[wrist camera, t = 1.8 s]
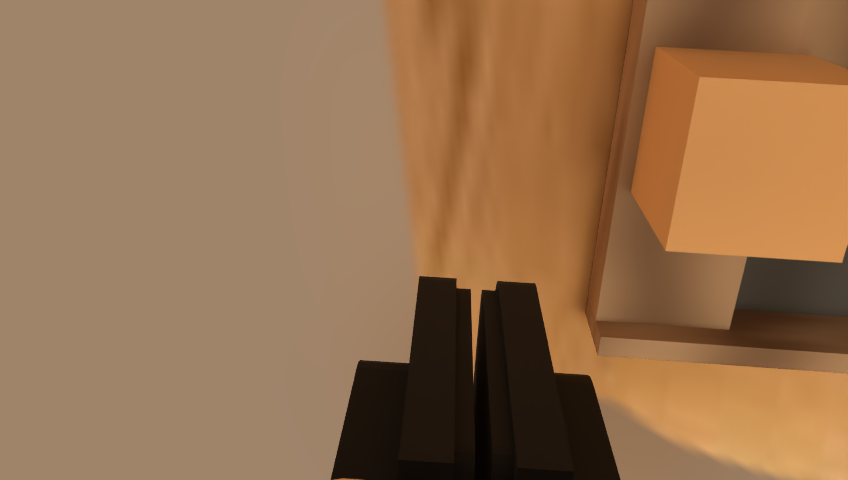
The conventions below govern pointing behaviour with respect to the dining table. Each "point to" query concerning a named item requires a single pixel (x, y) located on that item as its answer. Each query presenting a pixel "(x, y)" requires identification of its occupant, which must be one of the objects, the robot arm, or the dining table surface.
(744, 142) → the orange block
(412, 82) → the dining table surface
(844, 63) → the box
